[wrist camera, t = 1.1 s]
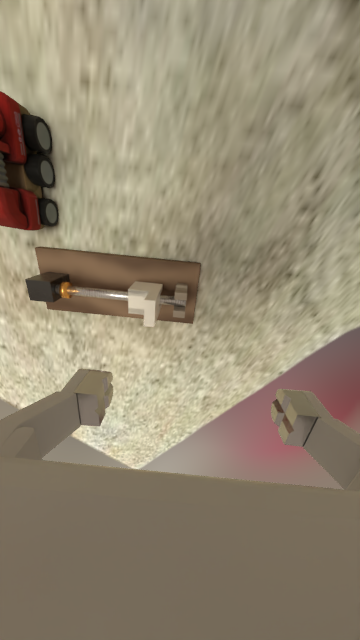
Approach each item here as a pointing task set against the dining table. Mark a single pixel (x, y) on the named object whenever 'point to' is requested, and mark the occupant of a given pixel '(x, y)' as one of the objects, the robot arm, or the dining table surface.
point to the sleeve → (145, 301)
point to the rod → (76, 290)
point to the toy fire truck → (24, 168)
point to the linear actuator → (121, 281)
